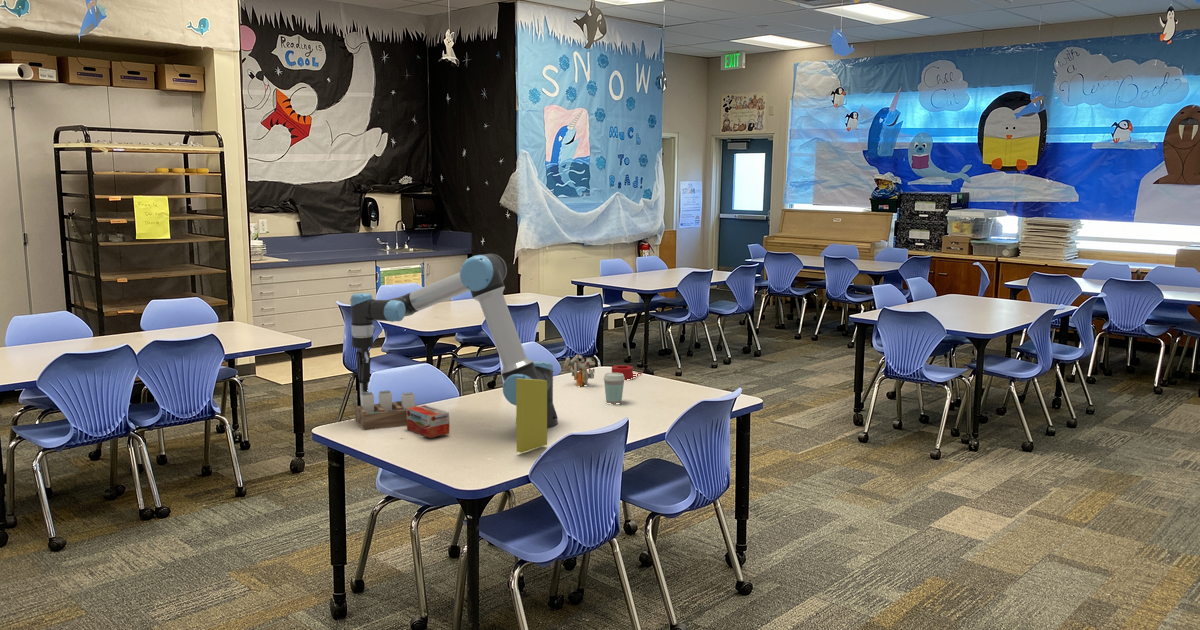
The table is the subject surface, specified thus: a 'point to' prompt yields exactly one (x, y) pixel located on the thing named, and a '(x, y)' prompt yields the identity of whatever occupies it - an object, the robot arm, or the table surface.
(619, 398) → the coffee cup
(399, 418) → the wooden slotted rack
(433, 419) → the medicine box
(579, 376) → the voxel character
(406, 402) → the tab
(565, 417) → the table surface
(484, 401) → the table surface
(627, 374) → the red barrier tape roll
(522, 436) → the flat olive board
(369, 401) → the tab
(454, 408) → the table surface
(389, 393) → the tab
